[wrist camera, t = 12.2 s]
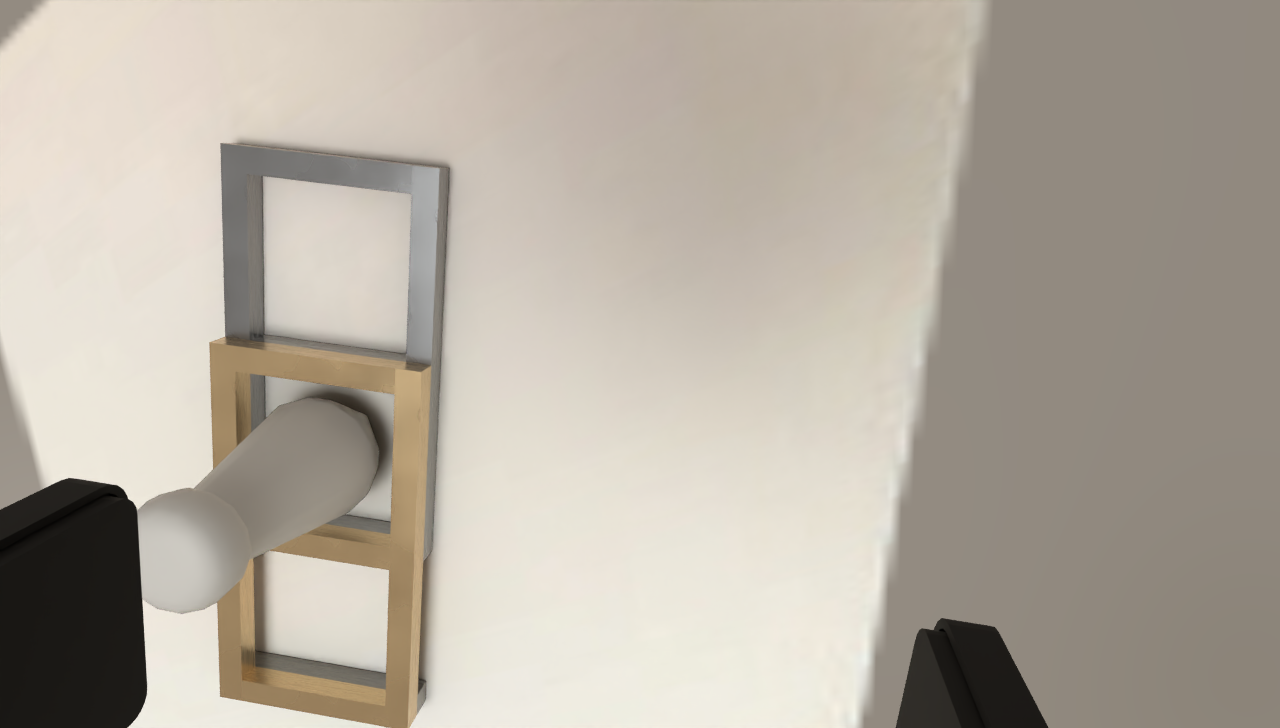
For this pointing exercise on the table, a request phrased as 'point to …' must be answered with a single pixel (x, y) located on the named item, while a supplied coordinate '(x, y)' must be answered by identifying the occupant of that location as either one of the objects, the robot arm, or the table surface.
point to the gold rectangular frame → (331, 540)
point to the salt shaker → (255, 502)
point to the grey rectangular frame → (425, 268)
